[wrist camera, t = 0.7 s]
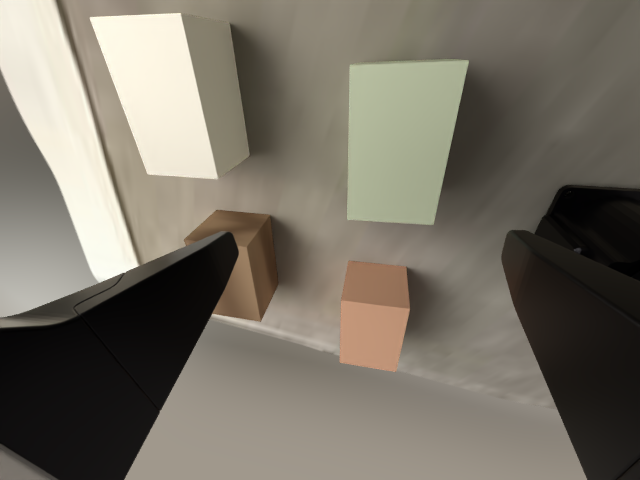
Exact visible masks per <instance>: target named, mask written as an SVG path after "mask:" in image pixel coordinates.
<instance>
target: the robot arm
mask: <svg viewBox="0 0 640 480" xmlns="http://www.w3.org/2000/svg"><path fill="white" fill-rule="evenodd" d="M569 191H571V193H570V194H569V195H567V196H565V194H566V193H567V192H569ZM238 256H239V249H238V247H237V244H236V241H235V238H234V235H233V234H232V232H229V231H221V232H218V233H216V234H213V235H211V236H209V237H206V238H204V239H202V240H199V241H197V242H195V243H192V244H190V245H188V246H185V247H183V248H181V249H178V250H176V251H174V252H171V253H169V254H167V255H164V256H162V257H160V258H157V259H155V260H153V261H150V262H148V263H146V264H143V265H141V266H138V267H136V268H134V269H131V270H129V271H127V272H126V273H122V274H120V275H117V276H115V277H113V278H110V279H108V280H105V281H103V282H101V283H98V284H96V285H93V286H91V287H89V288H86V289H83V290H81V291H78V292H76V293H73V294H71V295H68V296H65V297H63V298H60V299H58V300H55V301H53V302H50V303H47V304H45V305H42V306H39V307H37V308H35V309H32V310H29V311H26V312H23V313H20V314H16V315H12V316H7V317H1V318H0V480H124V479H125V477H126V475H127V473H128V471H129V469H130V468H131V466H132V464H133V462H134V460H135V458H136V456H137V454H138V453H139V451H140V449H141V447H142V445H143V443H144V441H145V439H146V437H147V435H148V434H149V432H150V429H151V428H152V426H153V424H154V422H155V420H156V419H157V417H158V415H159V413H160V410H161V409H162V407H163V405H164V403H165V401H166V399H167V398H168V396H169V394H170V392H171V390H172V388H173V386H174V384H175V383H176V381H177V379H178V377H179V375H180V373H181V371H182V369H183V368H184V365H185V364H186V362H187V360H188V358H189V356H190V354H191V353H192V351H193V349H194V347H195V345H196V343H197V341H198V339H199V338H200V336H201V334H202V332H203V330H204V328H205V326H206V324H207V322H208V321H209V319H210V317H211V315H212V313H213V311H214V309H215V307H216V306H217V304H218V302H219V300H220V298H221V296H222V294H223V292H224V290H225V288H226V286H227V284H228V281H229V279H230V276H231V274H232V271H233V269H234V266H235V264H236V261H237V259H238ZM501 258H502V264H503V268H504V272H505V275H506V279H507V283H508V287H509V290H510V294H511V298H512V301H513V304H514V307H515V310H516V312H517V315H518V317H519V319H520V322H521V324H522V327H523V329H524V331H525V334H526V336H527V338H528V341H529V343H530V345H531V348H532V350H533V353H534V355H535V357H536V360H537V362H538V364H539V367H540V369H541V371H542V374H543V376H544V378H545V381H546V383H547V386H548V388H549V390H550V393H551V395H552V397H553V400H554V402H555V404H556V407H557V409H558V412H559V414H560V416H561V419H562V421H563V423H564V426H565V428H566V430H567V433H568V435H569V438H570V440H571V442H572V445H573V447H574V449H575V451H576V454H577V456H578V458H579V461H580V463H581V466H582V468H583V471H584V473H585V475H586V478H587V480H640V189H629V188H612V187H595V186H577V185H566V186H563V187H562V188H560V189H559V190H558V192H557V194H556V196H555V198H554V200H553V202H552V204H551V206H550V208H549V210H548V211H547V213H546V215H545V216H544V217H543V218H542V220H541V222H540V224H539V226H538V228H537V230H536V232H535V234H533V233H531V232H529V231H526V230H511V231H509V232H508V233H507V236H506V239H505V243H504V247H503V251H502V257H501Z"/></svg>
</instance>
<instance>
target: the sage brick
mask: <svg viewBox="0 0 640 480" xmlns="http://www.w3.org/2000/svg"><path fill="white" fill-rule="evenodd" d="M468 63H469V60H457V59H434V60H410V61H386V62H362V63H356V64H352V65H350V88H349V144H348V200H347V220H361V221H377V222H393V223H408V224H424V225H433V224H434V220H435V215H436V211H437V206H438V201H439V197H440V192H441V187H442V183H443V178H444V174H445V169H446V164H447V160H448V155H449V151H450V146H451V141H452V137H453V132H454V127H455V123H456V118H457V114H458V109H459V104H460V100H461V95H462V90H463V86H464V81H465V77H466V72H467V67H468Z"/></svg>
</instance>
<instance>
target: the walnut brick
mask: <svg viewBox="0 0 640 480" xmlns="http://www.w3.org/2000/svg"><path fill="white" fill-rule="evenodd" d="M221 231H229V232H232V234H233V235H234V238H235V241H236V244H237V247H238V249H239V256H238V259H237V261H236V264H235V266H234V269H233V271H232V274H231V276H230V279H229V281H228V284H227V286H226V288H225V290H224V292H223V294H222V296H221V298H220V300H219V302H218V304H217V306H216V307H215V309H214V311H213V313H212V314H217V315H223V316H229V317H236V318H242V319H248V320H254V321H260V322H261V320H262V318H263V316H264V314H265V312H266V309H267V307H268V305H269V303H270V301H271V299H272V297H273V295H274V293H275V290H276V288H277V286H278V276H277V268H276V260H275V251H274V243H273V235H272V227H271V219H270V215H266V214H255V213H244V212H233V211H223V210H216V211H215V212H214V213H213V214H212V215H210V216H209V217H208V218H207V219H206V220H205V221H204V222H203V223H202V224H201V225H199V226H198V227H197V228H196V229H195V230H194V231H193V232H192V233H191V234H190V235H189V236H187V237H186V238H185V239H184V242H185V244H186V246H188V245H190V244H192V243H195V242H197V241H199V240H202V239H204V238H206V237H209V236H211V235H213V234H216V233H218V232H221Z"/></svg>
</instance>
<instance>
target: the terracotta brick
mask: <svg viewBox="0 0 640 480" xmlns="http://www.w3.org/2000/svg"><path fill="white" fill-rule="evenodd" d="M409 312H410V302H409V292H408V281H407V270H406V267H404V266H394V265H384V264H374V263H364V262H355V261H348V266H347V272H346V277H345V282H344V288H343V293H342V299H341V331H340V363H346V364H352V365H358V366H364V367H370V368H376V369H382V370H388V371H394V372H396V370H397V365H398V361H399V356H400V352H401V348H402V343H403V339H404V334H405V330H406V325H407V321H408V316H409Z"/></svg>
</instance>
